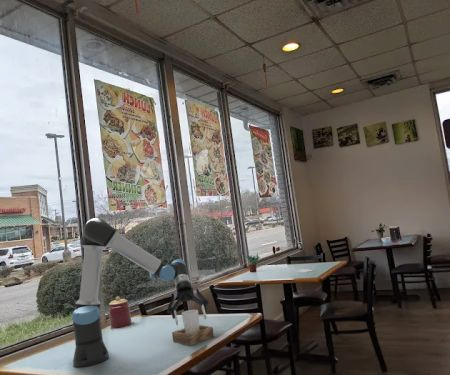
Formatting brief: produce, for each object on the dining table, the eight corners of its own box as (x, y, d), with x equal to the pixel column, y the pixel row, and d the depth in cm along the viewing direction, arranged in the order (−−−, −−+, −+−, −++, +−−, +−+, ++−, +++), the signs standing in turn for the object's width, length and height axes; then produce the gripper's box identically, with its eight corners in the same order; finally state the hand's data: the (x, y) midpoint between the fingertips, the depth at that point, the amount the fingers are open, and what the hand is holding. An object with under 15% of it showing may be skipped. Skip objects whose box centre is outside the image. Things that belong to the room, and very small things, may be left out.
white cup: (202, 329, 196) (199, 308, 197) (199, 334, 188) (196, 312, 189) (186, 331, 197) (183, 310, 198) (183, 336, 189) (180, 314, 190)
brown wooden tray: (189, 345, 182) (187, 335, 183) (173, 341, 193) (172, 332, 194) (213, 336, 191) (212, 327, 192) (197, 333, 202) (196, 324, 202)
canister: (108, 326, 253) (105, 297, 255) (129, 321, 259) (126, 293, 260) (112, 329, 241) (108, 299, 243) (133, 324, 247) (130, 295, 249)
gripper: (158, 284, 202) (164, 321, 186) (207, 276, 207) (217, 310, 191) (159, 294, 206) (165, 330, 190) (206, 285, 212) (216, 320, 196)
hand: (191, 320), depth 191 cm, fingers open, 13 cm apart
